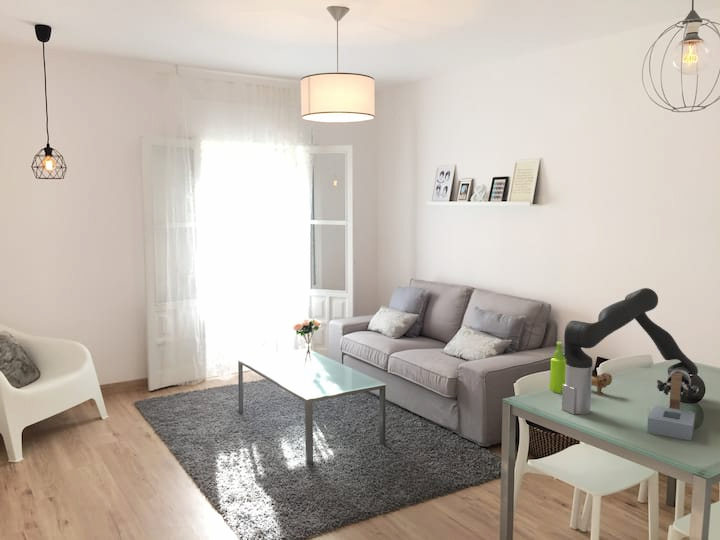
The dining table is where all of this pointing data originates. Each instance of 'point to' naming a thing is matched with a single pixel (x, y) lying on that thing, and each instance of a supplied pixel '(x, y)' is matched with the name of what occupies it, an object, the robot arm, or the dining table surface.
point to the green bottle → (557, 370)
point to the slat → (675, 391)
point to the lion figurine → (601, 381)
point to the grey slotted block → (671, 422)
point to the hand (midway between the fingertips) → (675, 393)
